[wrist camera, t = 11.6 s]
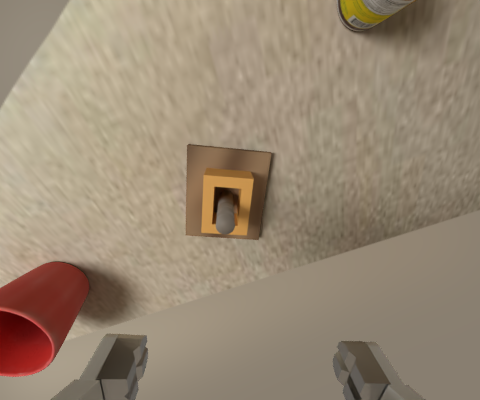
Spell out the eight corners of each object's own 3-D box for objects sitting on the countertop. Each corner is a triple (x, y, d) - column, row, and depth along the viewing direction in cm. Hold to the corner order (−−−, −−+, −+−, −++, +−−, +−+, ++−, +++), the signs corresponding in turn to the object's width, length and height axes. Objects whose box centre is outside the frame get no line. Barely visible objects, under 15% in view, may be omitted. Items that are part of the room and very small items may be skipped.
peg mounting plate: (270, 152, 27) (288, 168, 19) (257, 236, 32) (268, 279, 23) (188, 144, 27) (170, 157, 18) (186, 231, 31) (171, 275, 22)
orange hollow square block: (250, 171, 27) (253, 179, 24) (244, 222, 30) (246, 235, 26) (206, 167, 27) (203, 175, 23) (204, 219, 29) (201, 232, 26)
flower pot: (116, 285, 34) (75, 348, 24) (69, 320, 36) (15, 390, 26) (56, 238, 30) (-18, 291, 21) (8, 279, 32) (-78, 344, 23)
